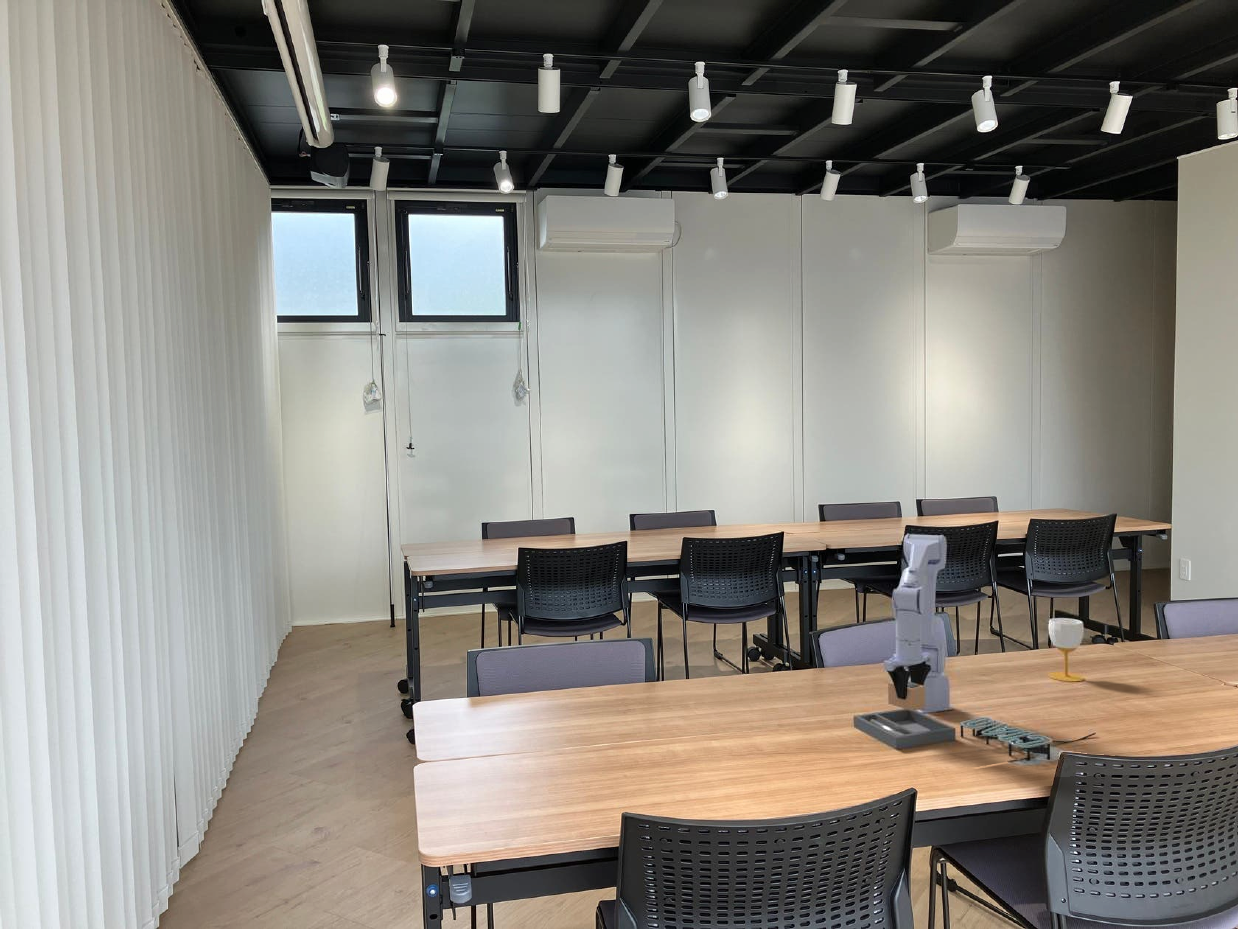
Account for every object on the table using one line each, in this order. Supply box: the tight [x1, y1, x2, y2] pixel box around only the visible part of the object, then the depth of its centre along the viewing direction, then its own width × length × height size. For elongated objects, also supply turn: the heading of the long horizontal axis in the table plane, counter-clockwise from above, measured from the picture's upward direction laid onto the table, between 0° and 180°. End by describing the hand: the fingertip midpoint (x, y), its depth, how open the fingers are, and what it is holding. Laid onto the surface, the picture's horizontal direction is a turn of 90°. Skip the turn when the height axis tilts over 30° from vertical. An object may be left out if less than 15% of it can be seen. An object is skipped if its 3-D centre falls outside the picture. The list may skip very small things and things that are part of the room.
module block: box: [887, 680, 926, 711], centre depth 199 cm, size 4×7×5 cm, turn 31°
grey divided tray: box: [853, 708, 957, 750], centre depth 197 cm, size 16×16×3 cm
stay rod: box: [870, 719, 905, 736], centre depth 196 cm, size 12×2×2 cm
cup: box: [1047, 617, 1085, 683], centre depth 240 cm, size 9×9×16 cm
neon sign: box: [959, 716, 1096, 767], centre depth 192 cm, size 21×4×29 cm
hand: (909, 696), depth 198 cm, fingers closed on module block, 4 cm apart
